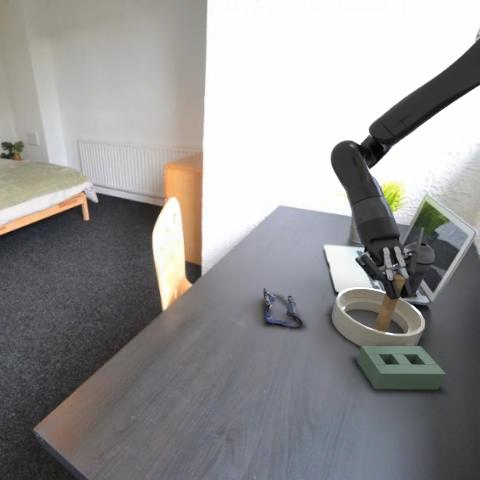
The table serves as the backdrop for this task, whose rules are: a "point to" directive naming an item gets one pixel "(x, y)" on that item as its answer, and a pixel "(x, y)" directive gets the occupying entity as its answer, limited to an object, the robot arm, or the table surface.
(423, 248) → the beverage cup
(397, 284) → the stirring stick
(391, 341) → the cream ring
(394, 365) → the stick stand
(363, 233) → the robot arm
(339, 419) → the table surface
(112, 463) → the table surface
